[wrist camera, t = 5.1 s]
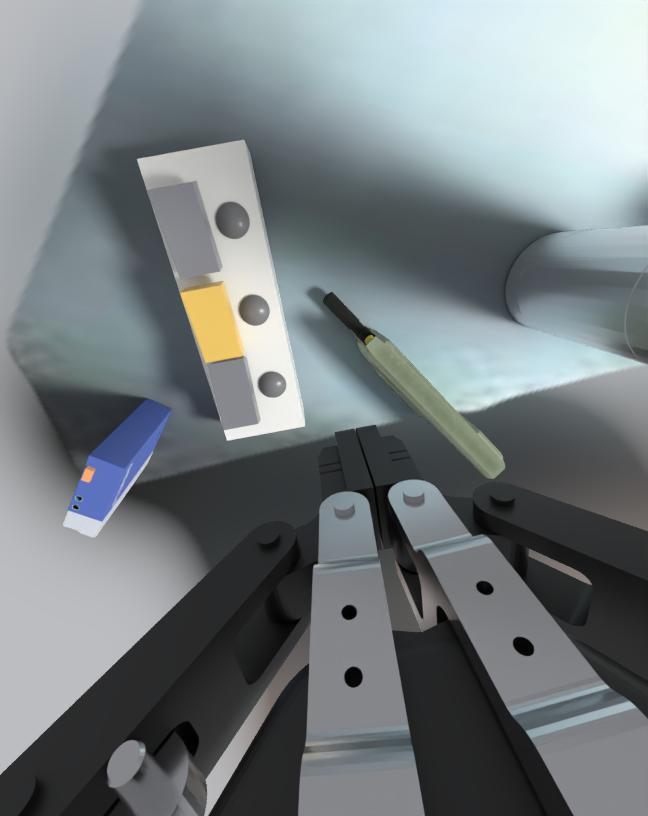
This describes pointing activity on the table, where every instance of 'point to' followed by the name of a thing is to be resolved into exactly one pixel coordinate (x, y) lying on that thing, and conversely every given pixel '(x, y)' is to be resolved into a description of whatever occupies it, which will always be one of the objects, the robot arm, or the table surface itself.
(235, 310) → the power strip
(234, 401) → the block
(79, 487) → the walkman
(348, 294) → the table surface
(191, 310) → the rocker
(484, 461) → the handheld radio
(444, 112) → the table surface
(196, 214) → the grey flat block
